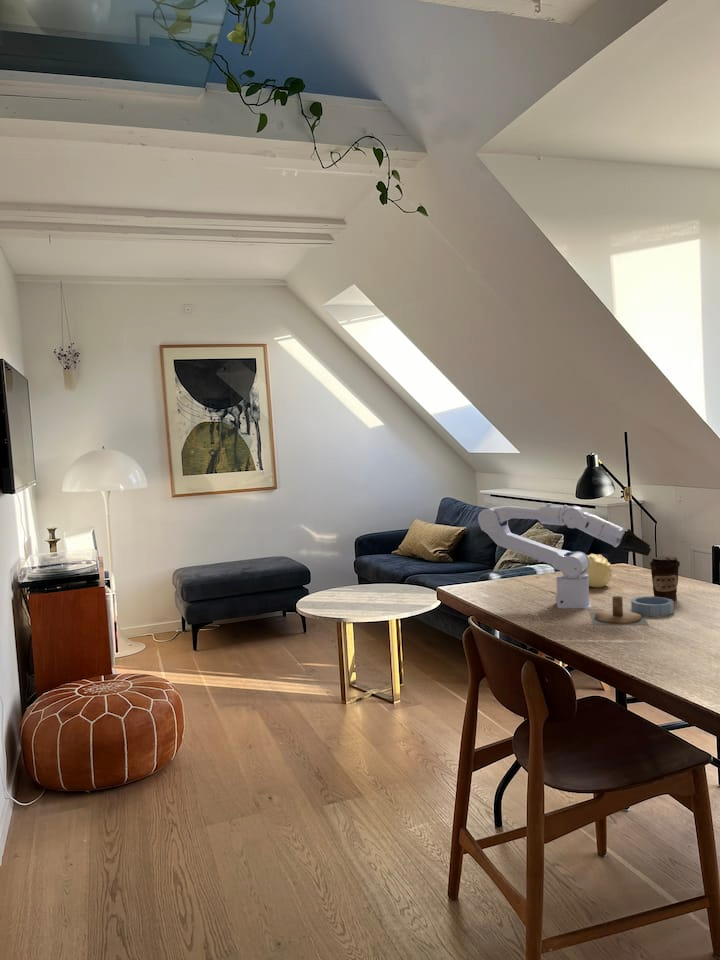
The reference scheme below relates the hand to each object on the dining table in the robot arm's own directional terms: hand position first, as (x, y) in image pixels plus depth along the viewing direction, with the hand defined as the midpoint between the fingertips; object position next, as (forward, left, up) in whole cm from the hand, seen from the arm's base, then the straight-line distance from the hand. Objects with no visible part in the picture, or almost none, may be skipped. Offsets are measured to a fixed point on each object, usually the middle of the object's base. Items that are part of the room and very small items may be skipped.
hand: (649, 550), depth 216 cm
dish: (0, -2, -17) cm, 17 cm away
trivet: (-10, -10, -17) cm, 22 cm away
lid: (-10, -10, -17) cm, 22 cm away
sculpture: (-13, +35, -18) cm, 41 cm away
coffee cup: (+6, +13, -18) cm, 23 cm away
